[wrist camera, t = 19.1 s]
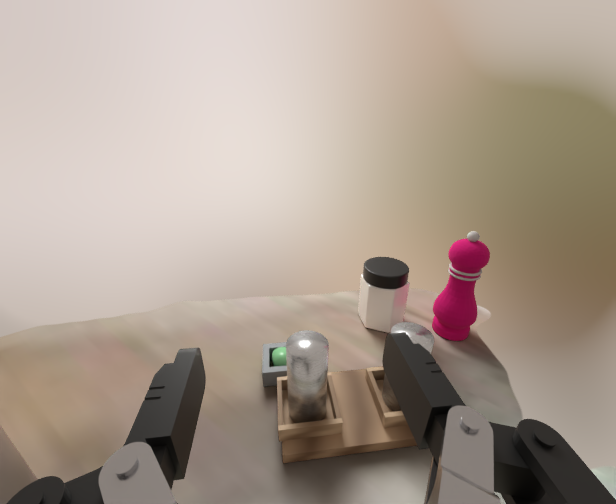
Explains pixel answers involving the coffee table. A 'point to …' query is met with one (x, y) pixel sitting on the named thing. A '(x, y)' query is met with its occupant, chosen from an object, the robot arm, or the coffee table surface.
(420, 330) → the seated billet
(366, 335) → the coffee table surface
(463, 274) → the pepper mill
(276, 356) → the button
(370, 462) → the coffee table surface
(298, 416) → the cylinder
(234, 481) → the coffee table surface
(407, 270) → the jar
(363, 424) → the wooden tray
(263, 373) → the grey square box
